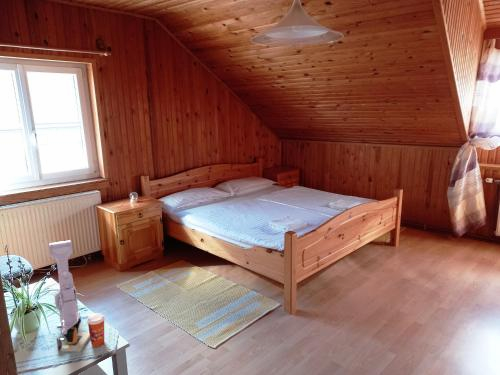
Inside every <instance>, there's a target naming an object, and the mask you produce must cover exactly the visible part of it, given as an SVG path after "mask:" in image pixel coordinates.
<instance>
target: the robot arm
mask: <svg viewBox="0 0 500 375" xmlns="http://www.w3.org/2000/svg"><path fill="white" fill-rule="evenodd" d="M48 250H49V251H48V252H49V256H50V258H51V259H54V260H56V265H57V273H58V285H59V290H57V291H56V292H55V294H54V303H55V309H56V310H58V312H59V313H58V314H59V320H60V321H59V323H57V325H56V327H57V328H58V327H60V328H62V329H61V331H60V332H61V335H63V336H64V337H65V339H66V341H68V342H73V334H74V330H75V329H71V327H76V329H77V334H78V332H79V328H80V324H81V321H82V319H81V312H80V311H79V306H78V305H79V304H78V297H77V289H76V287H75V284H74V279H73V274H72V273H71V272H70V270H69V257H70V256H71V255H72V253H73V245H72V240H70V239H68V240H65V241H57V242H49V244H48ZM68 342H67V343H68Z"/></svg>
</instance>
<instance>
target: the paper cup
mask: <svg viewBox="0 0 500 375" xmlns="http://www.w3.org/2000/svg"><path fill="white" fill-rule="evenodd" d="M105 319H106V317H105V315H104V314H103V313H100V312H95V313H91V314H90V315H89V316H88V317H87V319H86V323H87V325H88V332H89V334H90V338H89V340H90V343H91V346H92V347H93V348H100V347H101V345H102V346H103V345H104V344H105Z"/></svg>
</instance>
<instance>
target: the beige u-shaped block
mask: <svg viewBox="0 0 500 375" xmlns="http://www.w3.org/2000/svg"><path fill="white" fill-rule="evenodd" d="M77 337H78V342H77V344H76V345H69V344H67V345H64V344H63V345H62V347H61V349H60V352H79V353H80V352H82V350H83V349H84V348H85V346H86V345H87V343H88V341H89V340H90V334H89V331H78V334H77Z"/></svg>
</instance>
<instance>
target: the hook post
mask: <svg viewBox="0 0 500 375" xmlns="http://www.w3.org/2000/svg"><path fill="white" fill-rule="evenodd" d="M64 341H65V338H62V337H57V339H56V346H57V350H59V351H61V347H62V346H63V345H62V342H64Z"/></svg>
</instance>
